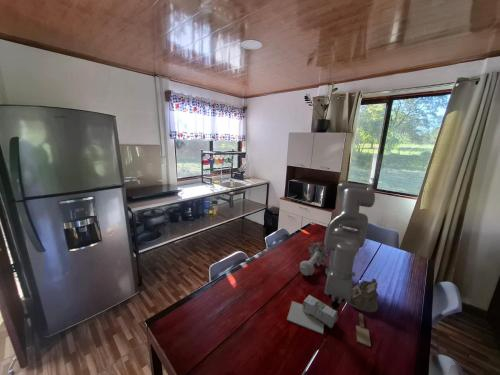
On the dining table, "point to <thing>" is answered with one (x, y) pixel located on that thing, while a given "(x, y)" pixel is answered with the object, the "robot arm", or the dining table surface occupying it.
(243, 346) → the dining table surface
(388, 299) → the dining table surface
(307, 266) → the flower vase
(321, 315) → the syrup box
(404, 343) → the dining table surface
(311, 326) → the mat
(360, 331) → the turner
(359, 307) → the ceramic cottage
